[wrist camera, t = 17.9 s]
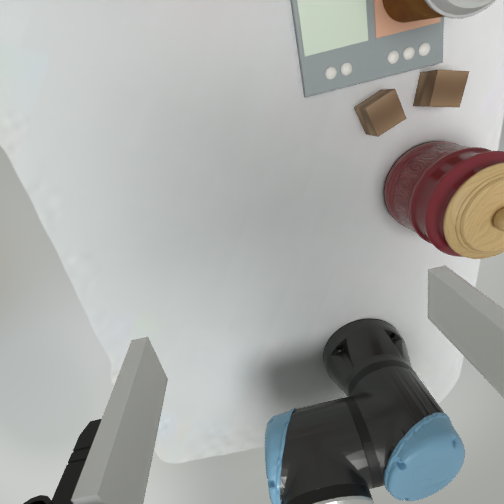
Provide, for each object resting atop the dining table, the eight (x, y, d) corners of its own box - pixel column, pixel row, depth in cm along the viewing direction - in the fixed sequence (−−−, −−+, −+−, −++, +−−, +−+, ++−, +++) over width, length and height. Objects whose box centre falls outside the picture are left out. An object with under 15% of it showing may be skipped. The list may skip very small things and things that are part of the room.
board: (438, 63, 43) (444, 62, 42) (304, 97, 43) (306, 96, 42) (441, -77, 37) (447, -82, 36) (285, -36, 37) (287, -40, 36)
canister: (399, 239, 53) (476, 299, 37) (367, 173, 48) (440, 208, 32) (475, 195, 51) (591, 238, 35) (450, 121, 46) (572, 131, 30)
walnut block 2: (440, 106, 45) (459, 107, 41) (412, 105, 45) (429, 106, 41) (448, 73, 43) (469, 71, 40) (420, 72, 43) (438, 69, 39)
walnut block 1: (391, 117, 45) (406, 118, 41) (365, 133, 46) (377, 136, 42) (380, 89, 43) (395, 88, 40) (353, 107, 44) (365, 108, 40)
